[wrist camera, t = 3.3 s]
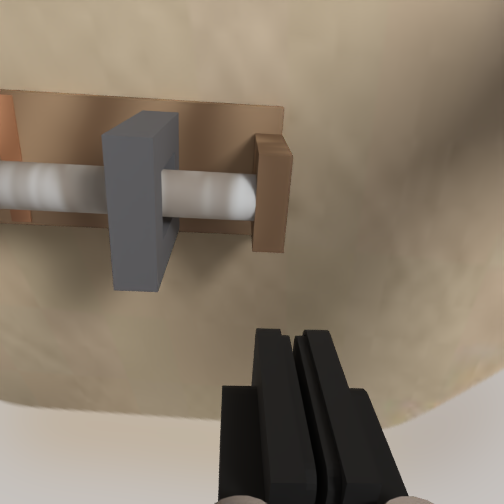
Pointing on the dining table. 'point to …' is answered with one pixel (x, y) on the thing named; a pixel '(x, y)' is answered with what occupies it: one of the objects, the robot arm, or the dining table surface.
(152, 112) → the grey flat block
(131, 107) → the pipe stand
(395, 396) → the dining table surface
